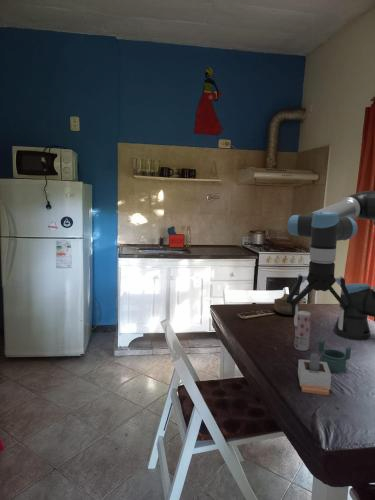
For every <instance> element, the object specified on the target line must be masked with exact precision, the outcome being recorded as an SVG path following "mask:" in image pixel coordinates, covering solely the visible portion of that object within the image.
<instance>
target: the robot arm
mask: <svg viewBox="0 0 375 500" xmlns="http://www.w3.org/2000/svg"><path fill="white" fill-rule="evenodd" d="M356 219H358V220H368V221H369V220H372V221H373V226H374V227H375V190H364V191H360V192H357V193H353V194H350V195H347V196H345V197H342V198H341V199H340V200H338V202H336V203H334V204H331V205H327V206H326V207H323V208H320V209H318V210H315V211H313V212H309V213H307V214H304V215H303V214H294V215H291V216H290V217H289V218H288V221H287V231H288V233H289V234H290V235H292V236H296V237H299V238H301V237H302V238H304V237H305V238H310V250H309V260H310V261H309V263H308V275H307V276H306V275H302V274H301V273H300V274H298V275H297V279H296V282H295V284H294V285H293V287H292V289H291V290H290V291H289V293H288V294H289V295H288V297H287V298H286V302H287V303H289V304H291V305H292V306H291V314H292V315H291V316H293V318H294V319H293V324H294V326H295V327H296V326H297V319H298V304H297V303H298V302H301V300H303V299H304V298H305V297H306V296H307V295H308V294H309V293H310V292H312V291H313V290H314V291H315V292H316V291H317V292H320V291H321V292H326V291H328V290H329V292H330V293H331V294H332V296H333V297H334V298H335V300H336V301H337V302H338V303H339V312H338V317H337V319H336V321H335V323H334V325H333V333H335V334H336V335H337V336H340V337H342V338H344V339H349V340H357V341H360V340H361V341H363V340H368V339H370V338H371V329H370V325H369V322H368V317H372V318H375V285H374V286H371V285H370V284H368V283H361V282H359V283H358V282H356V283H346V279H345V277H343V276H339V277H335V269H336V264H335V261H336V257H337V256H336V255H337V241H346V240H350V239H352V238H353V237H355V235H356V234H357V233H358V224H357V222H356V221H355V220H356ZM305 281H306V282H308V284H307V285H306V286H305V287H304V289H303V290H302V291H301V292H299V293H298V295H296V293H297V292H298V291H299V289H300V287H301V285H302V284H303V283H305ZM335 283H336V284H337V285H338V286H340V288H341V290H340V294H338V293H337V292H336V290H335V289H334V287H333V285H334V284H335ZM371 287H372V288H371ZM293 298H294V299H293ZM292 299H293V300H292Z"/></svg>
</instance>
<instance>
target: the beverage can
mask: <svg viewBox="0 0 375 500" xmlns="http://www.w3.org/2000/svg"><path fill="white" fill-rule="evenodd" d="M311 314H312V313H311V312H310V311H306V310H299V311H298V319H297V326H295V330H294V333H295V334H294V341H293V342H294V345H293V347H294V348H295V350H297V351H301V352H302V351H303V352H304V351H305V352H306V351H308V350H309V348H310V339H311V338H310V333H311V322H312V315H311Z"/></svg>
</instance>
